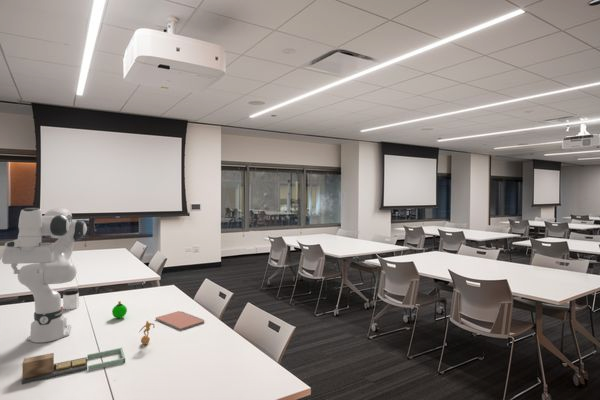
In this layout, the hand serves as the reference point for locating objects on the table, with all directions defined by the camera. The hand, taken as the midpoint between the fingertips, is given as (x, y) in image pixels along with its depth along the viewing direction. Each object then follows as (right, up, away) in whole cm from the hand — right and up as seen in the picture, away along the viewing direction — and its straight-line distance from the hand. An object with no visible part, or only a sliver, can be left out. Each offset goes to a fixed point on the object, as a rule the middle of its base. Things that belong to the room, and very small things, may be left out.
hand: (27, 273), depth 164 cm
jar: (-27, -38, +73) cm, 86 cm away
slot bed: (+22, -39, -14) cm, 47 cm away
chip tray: (+38, -39, -4) cm, 54 cm away
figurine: (+47, -39, +16) cm, 63 cm away
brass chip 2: (+29, -38, -9) cm, 49 cm away
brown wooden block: (+17, -38, -17) cm, 45 cm away
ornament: (+15, -38, +54) cm, 68 cm away
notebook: (+53, -39, +49) cm, 82 cm away
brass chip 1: (+24, -38, -12) cm, 47 cm away
